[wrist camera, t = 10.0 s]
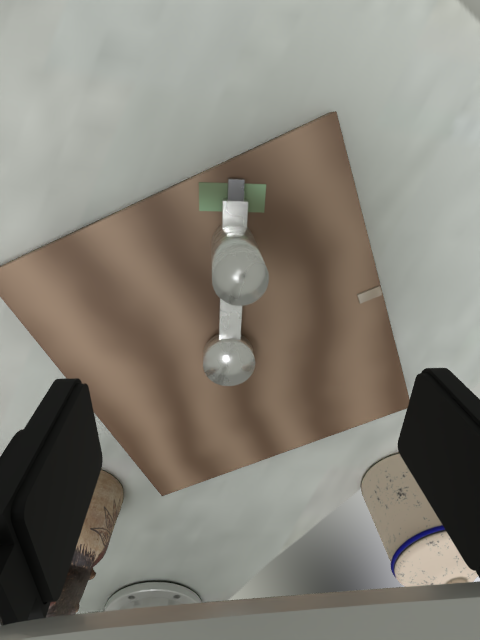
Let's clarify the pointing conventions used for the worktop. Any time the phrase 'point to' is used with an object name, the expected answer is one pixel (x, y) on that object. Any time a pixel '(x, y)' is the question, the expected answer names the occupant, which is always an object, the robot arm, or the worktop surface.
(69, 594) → the tan brown ceramic jug
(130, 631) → the robot arm
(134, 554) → the worktop surface
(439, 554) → the teacup with lid
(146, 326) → the wooden cutting board
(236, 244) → the dial lever
